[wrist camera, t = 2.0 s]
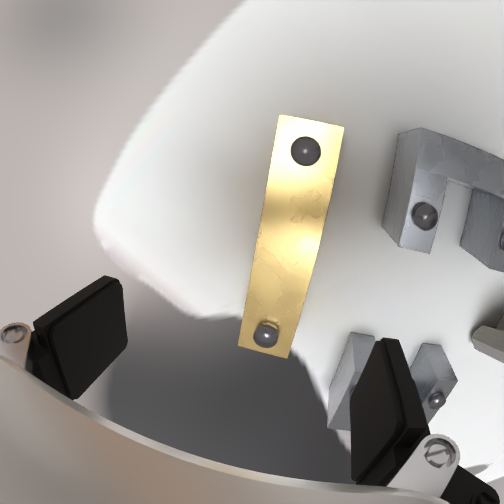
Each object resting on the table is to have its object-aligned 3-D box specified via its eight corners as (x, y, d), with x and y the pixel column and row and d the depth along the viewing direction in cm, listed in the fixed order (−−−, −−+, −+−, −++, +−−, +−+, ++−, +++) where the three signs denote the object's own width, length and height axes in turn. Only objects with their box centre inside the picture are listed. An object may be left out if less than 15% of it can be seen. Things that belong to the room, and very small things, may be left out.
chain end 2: (329, 388, 27) (326, 432, 22) (350, 332, 25) (355, 376, 19) (411, 398, 26) (420, 438, 20) (441, 345, 23) (459, 385, 18)
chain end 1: (496, 168, 17) (537, 175, 12) (478, 250, 20) (512, 276, 14) (398, 134, 19) (424, 126, 13) (381, 226, 21) (401, 249, 16)
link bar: (339, 134, 20) (345, 126, 15) (293, 325, 26) (285, 364, 21) (288, 123, 21) (277, 112, 16) (252, 314, 27) (235, 351, 21)
